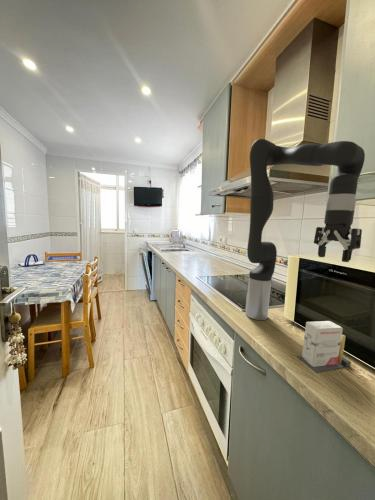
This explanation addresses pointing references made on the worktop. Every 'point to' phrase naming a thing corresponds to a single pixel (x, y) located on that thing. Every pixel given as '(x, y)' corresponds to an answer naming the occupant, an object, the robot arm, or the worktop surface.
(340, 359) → the pin header
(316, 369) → the rubber pad
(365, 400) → the worktop surface
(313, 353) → the ink box
